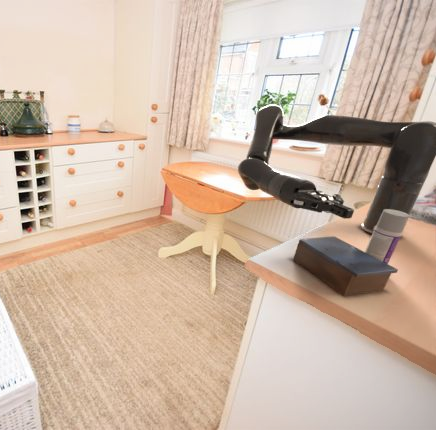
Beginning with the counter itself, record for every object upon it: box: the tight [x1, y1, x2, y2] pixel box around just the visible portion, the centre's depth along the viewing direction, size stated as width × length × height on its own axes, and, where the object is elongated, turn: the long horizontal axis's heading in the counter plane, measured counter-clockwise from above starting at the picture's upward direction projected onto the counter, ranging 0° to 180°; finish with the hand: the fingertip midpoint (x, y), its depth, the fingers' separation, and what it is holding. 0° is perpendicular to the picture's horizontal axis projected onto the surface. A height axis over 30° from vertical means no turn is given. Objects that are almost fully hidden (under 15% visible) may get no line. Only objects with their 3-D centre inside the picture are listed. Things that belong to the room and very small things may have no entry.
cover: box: [298, 235, 399, 277], centre depth 66 cm, size 15×10×1 cm
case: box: [292, 241, 392, 297], centre depth 68 cm, size 14×10×5 cm
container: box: [364, 209, 410, 265], centre depth 69 cm, size 5×5×15 cm
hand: (349, 214), depth 63 cm, fingers closed
